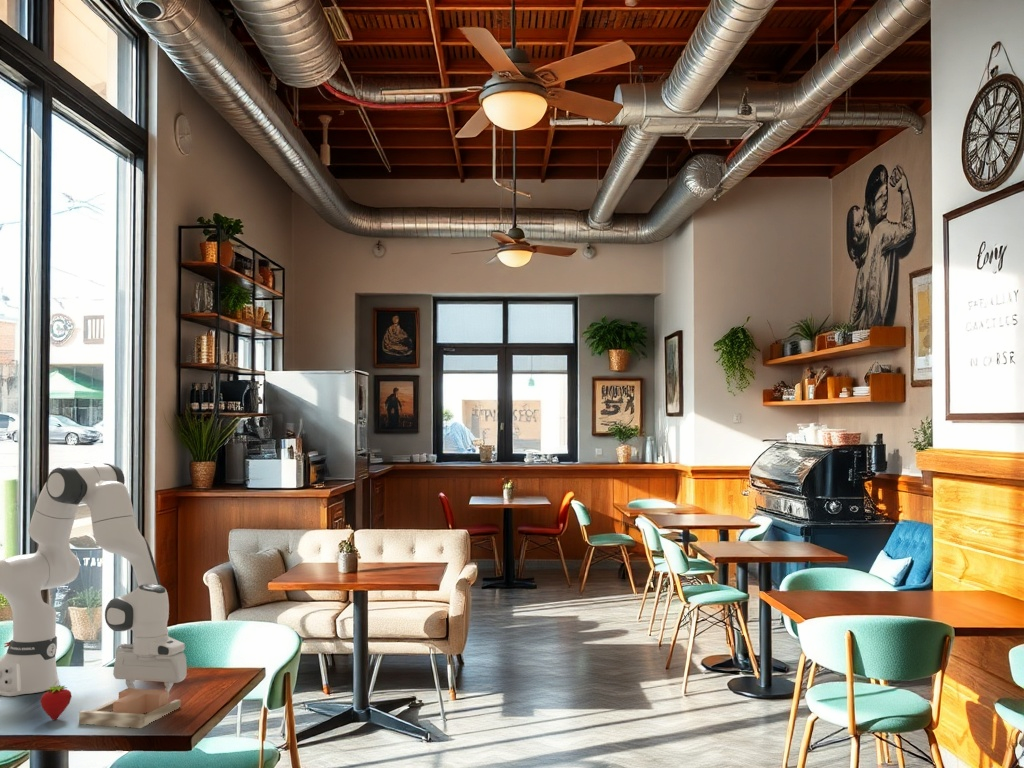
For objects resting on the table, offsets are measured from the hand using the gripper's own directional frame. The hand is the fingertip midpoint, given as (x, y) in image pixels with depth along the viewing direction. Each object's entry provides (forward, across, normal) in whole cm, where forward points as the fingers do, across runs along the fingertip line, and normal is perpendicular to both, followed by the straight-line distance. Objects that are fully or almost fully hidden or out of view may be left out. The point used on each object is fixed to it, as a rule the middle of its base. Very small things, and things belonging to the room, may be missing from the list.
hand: (149, 696), depth 243 cm
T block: (+3, 0, -7) cm, 8 cm away
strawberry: (+3, -17, -15) cm, 23 cm away
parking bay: (+3, 0, -7) cm, 7 cm away
